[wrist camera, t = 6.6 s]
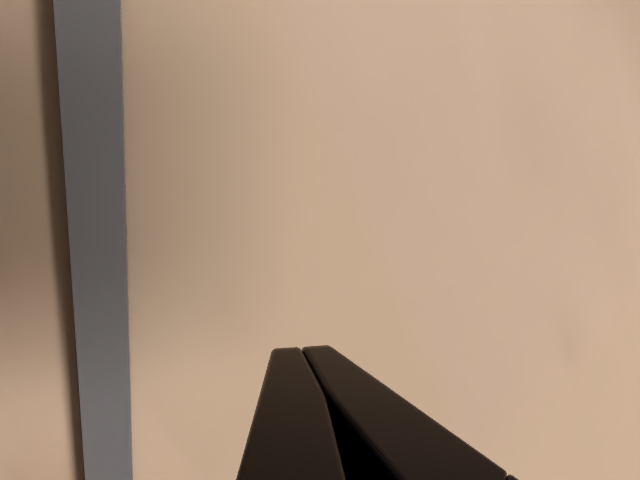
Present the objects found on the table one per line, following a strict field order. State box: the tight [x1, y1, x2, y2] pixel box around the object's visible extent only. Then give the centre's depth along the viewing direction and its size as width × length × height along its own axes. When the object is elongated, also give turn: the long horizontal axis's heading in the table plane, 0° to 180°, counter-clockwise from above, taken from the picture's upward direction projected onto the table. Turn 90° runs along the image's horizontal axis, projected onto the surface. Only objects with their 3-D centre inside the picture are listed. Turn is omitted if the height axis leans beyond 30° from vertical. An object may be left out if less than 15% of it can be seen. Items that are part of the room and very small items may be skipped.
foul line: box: [53, 0, 133, 480], centre depth 11 cm, size 18×1×1 cm, turn 173°
